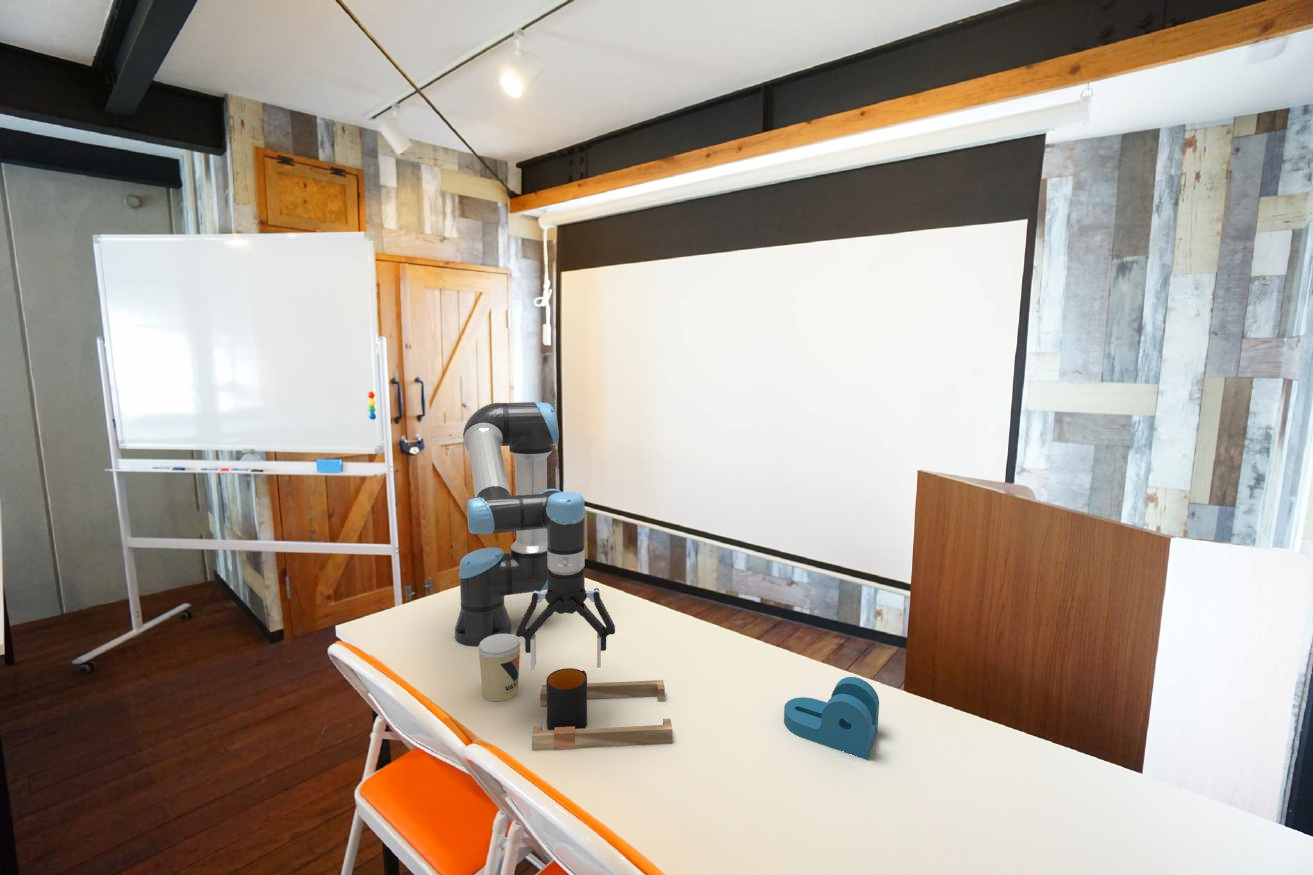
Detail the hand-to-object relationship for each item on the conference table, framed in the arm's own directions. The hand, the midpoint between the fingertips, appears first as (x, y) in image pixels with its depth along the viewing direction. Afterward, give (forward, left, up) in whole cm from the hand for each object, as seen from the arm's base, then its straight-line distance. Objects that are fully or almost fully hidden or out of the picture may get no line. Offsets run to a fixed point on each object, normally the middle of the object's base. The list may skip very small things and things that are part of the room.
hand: (566, 665), depth 119 cm
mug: (+1, +1, -12) cm, 12 cm away
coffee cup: (-11, -16, -12) cm, 23 cm away
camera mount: (+8, +54, -12) cm, 56 cm away
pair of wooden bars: (+1, +8, -12) cm, 14 cm away
